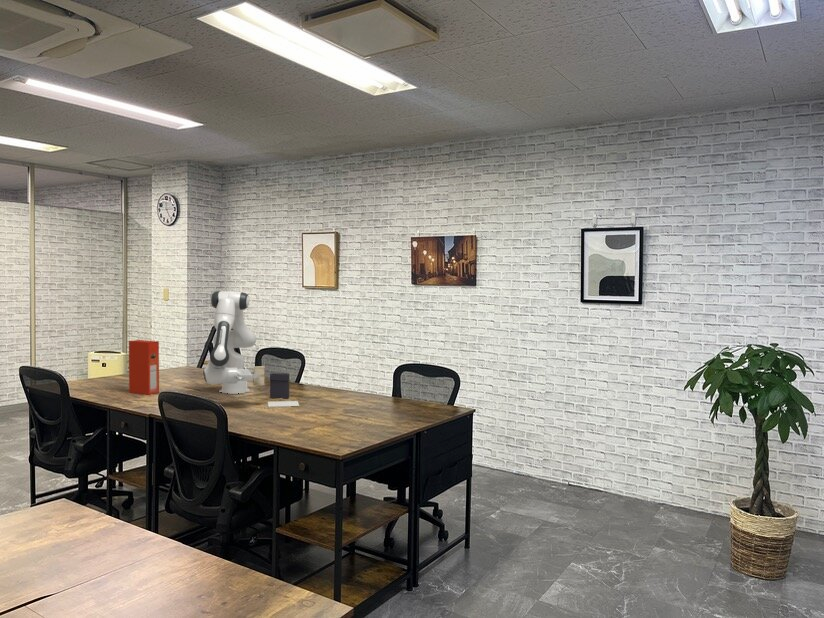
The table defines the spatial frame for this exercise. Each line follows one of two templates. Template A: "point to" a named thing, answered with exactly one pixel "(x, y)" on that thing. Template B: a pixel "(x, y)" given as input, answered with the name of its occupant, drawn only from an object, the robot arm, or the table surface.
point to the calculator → (279, 385)
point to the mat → (283, 404)
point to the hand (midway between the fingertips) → (259, 374)
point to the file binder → (144, 367)
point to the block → (260, 371)
